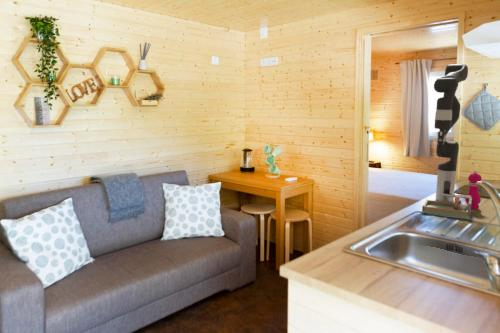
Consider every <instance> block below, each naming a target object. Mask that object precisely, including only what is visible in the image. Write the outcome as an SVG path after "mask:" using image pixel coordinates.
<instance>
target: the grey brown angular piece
mask: <svg viewBox="0 0 500 333" xmlns="http://www.w3.org/2000/svg"><path fill="white" fill-rule="evenodd" d="M450 185H451V182H450V181H444V189H443V194H442V195H443V196H449V197H454V201H453V203H454V210H457V209H458V205H459V201H460V200H461V199H465V198H468V199H471V196H470V195H467V194H460V193H459V194H458V193H454V194H451V193H450Z"/></svg>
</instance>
